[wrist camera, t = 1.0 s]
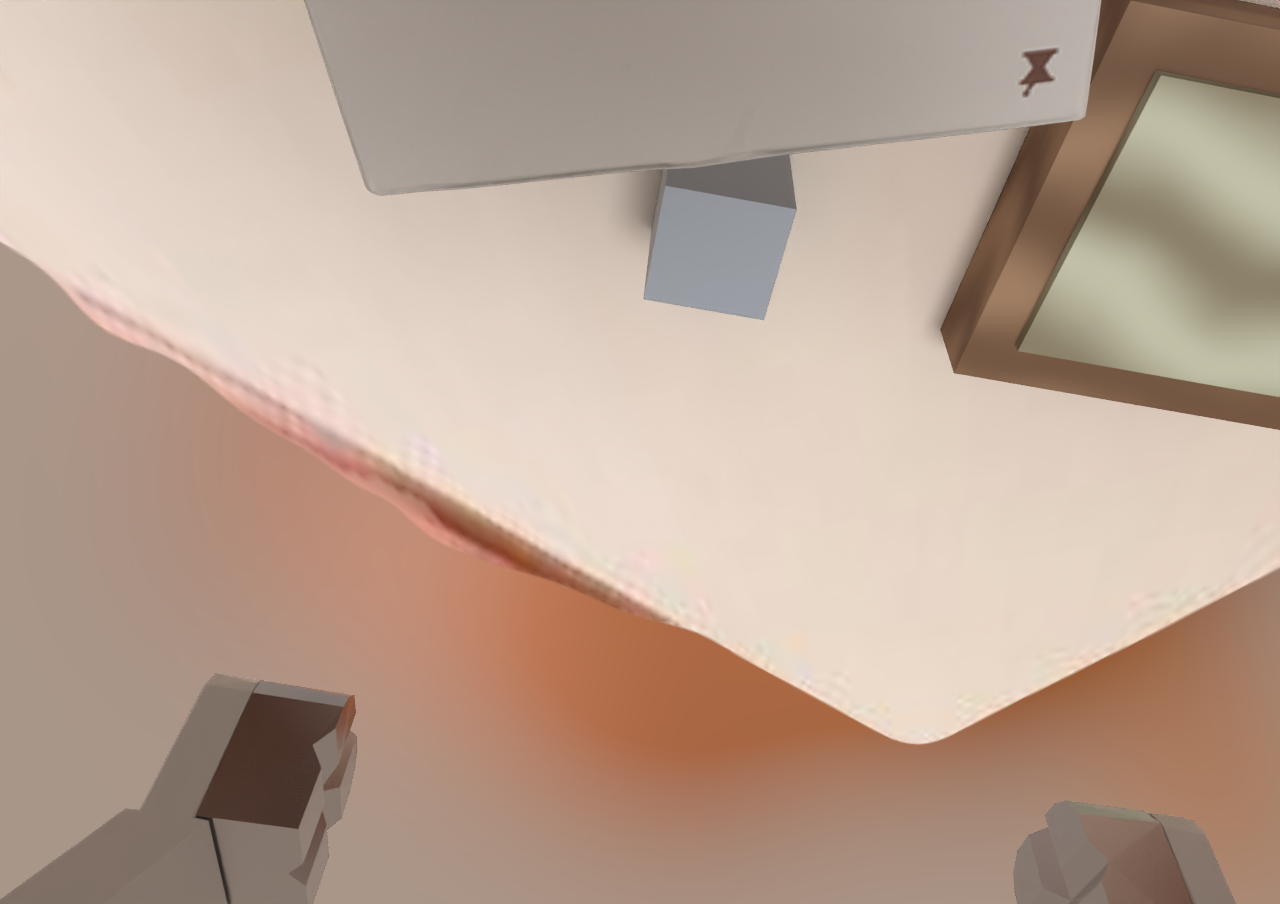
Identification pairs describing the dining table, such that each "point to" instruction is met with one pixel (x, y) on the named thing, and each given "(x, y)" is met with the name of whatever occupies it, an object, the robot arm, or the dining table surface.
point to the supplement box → (682, 80)
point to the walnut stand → (1144, 225)
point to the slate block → (721, 235)
